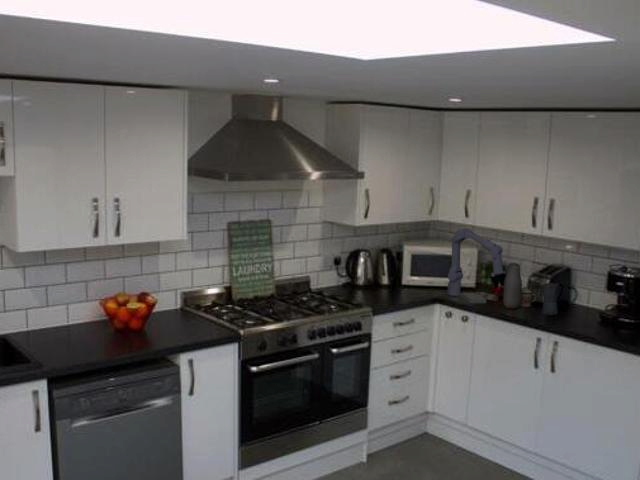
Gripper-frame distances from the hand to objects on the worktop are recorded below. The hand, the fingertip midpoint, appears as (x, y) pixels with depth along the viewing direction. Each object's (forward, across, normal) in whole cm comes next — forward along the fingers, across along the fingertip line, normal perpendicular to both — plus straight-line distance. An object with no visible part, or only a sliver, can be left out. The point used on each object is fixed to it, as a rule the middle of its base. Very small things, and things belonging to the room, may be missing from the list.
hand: (499, 286), depth 416 cm
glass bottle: (+13, -7, -10) cm, 18 cm away
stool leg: (+8, +6, +13) cm, 16 cm away
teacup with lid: (+13, +8, -12) cm, 20 cm away
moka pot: (+16, 0, -31) cm, 35 cm away
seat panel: (+8, -4, +17) cm, 19 cm away
